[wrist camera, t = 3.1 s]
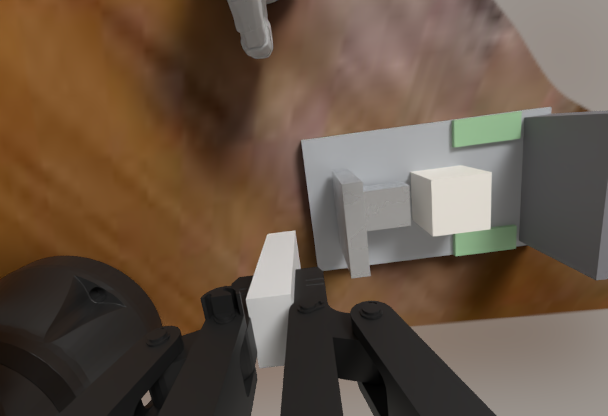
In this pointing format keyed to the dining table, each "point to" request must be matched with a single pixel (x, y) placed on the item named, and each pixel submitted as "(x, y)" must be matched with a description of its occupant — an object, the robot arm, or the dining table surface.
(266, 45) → the mug
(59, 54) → the dining table surface
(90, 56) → the dining table surface
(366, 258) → the plunger
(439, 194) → the block
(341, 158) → the bench
